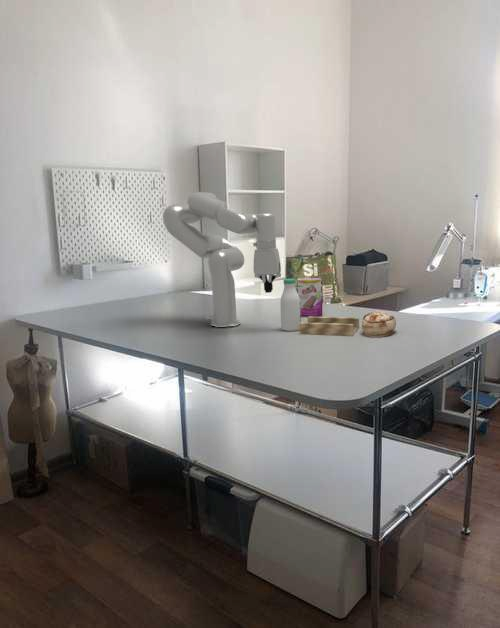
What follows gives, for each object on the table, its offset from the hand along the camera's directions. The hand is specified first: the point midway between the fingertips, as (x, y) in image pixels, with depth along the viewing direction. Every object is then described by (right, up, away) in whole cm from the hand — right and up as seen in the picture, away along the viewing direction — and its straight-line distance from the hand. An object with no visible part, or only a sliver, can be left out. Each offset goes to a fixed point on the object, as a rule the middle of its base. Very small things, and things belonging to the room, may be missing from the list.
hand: (268, 292), depth 212 cm
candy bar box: (+19, -10, +26) cm, 34 cm away
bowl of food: (+40, -16, -13) cm, 45 cm away
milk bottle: (+9, -15, 0) cm, 17 cm away
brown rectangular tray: (+23, -15, -6) cm, 28 cm away
